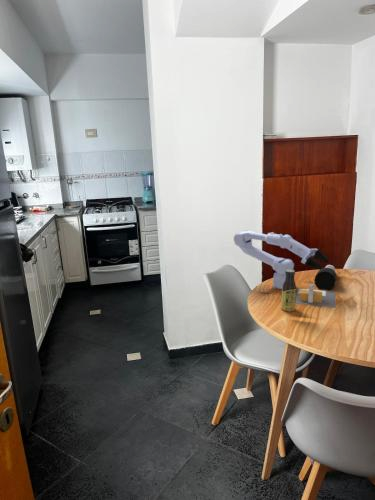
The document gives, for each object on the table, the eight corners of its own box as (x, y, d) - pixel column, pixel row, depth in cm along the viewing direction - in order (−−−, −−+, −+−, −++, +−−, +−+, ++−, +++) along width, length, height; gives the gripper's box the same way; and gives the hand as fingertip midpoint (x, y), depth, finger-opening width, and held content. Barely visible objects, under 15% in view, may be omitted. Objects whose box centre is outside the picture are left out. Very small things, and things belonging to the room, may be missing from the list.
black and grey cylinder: (333, 279, 218) (343, 265, 214) (328, 294, 187) (339, 278, 184) (318, 270, 221) (327, 256, 217) (310, 283, 190) (321, 267, 187)
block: (299, 300, 176) (299, 292, 175) (300, 297, 179) (300, 289, 178) (321, 302, 172) (322, 294, 171) (322, 299, 176) (322, 291, 175)
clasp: (308, 302, 172) (308, 288, 170) (309, 295, 180) (309, 281, 178) (312, 303, 171) (313, 288, 169) (313, 296, 179) (314, 282, 177)
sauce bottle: (285, 315, 164) (286, 273, 159) (278, 310, 170) (279, 269, 165) (298, 313, 166) (299, 271, 160) (291, 308, 171) (292, 267, 166)
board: (294, 306, 173) (294, 303, 173) (298, 291, 191) (298, 288, 191) (335, 310, 167) (335, 307, 166) (335, 294, 185) (335, 291, 184)
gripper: (296, 249, 177) (321, 264, 170) (310, 238, 186) (334, 252, 180) (291, 260, 181) (316, 275, 175) (305, 249, 190) (328, 263, 184)
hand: (325, 264), depth 178 cm, fingers open, 7 cm apart
